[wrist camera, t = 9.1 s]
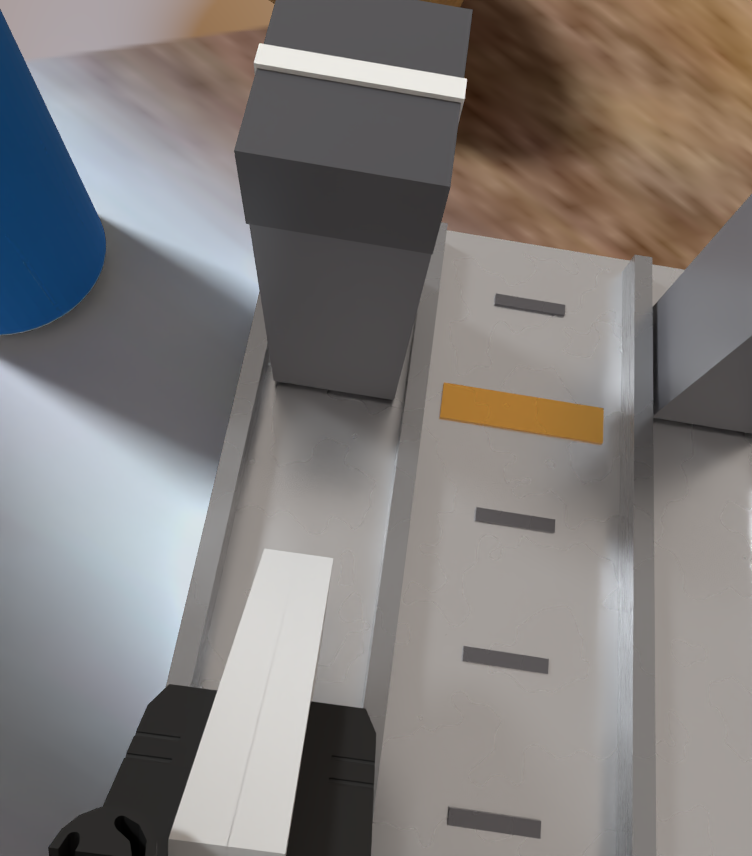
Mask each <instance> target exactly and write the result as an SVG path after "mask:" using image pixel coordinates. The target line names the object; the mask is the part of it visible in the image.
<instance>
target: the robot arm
mask: <svg viewBox="0 0 752 856" xmlns="http://www.w3.org/2000/svg"><path fill="white" fill-rule="evenodd" d="M332 565H333V558H328V557H321V556H314V555H307V554H300V553H293V552H285V551H278V550H271V549H264V551H263V554H262V558H261V561H260V564H259V567H258V570H257V573H256V576H255V579H254V582H253V585H252V588H251V591H250V594H249V597H248V600H247V603H246V606H245V609H244V612H243V615H242V618H241V621H240V624H239V627H238V630H237V633H236V636H235V639H234V642H233V645H232V648H231V651H230V654H229V657H228V660H227V663H226V666H225V669H224V672H223V675H222V678H221V681H220V684H219V687H218V690H210V689H203V688H196V687H188V686H181V685H173V684H169V685H168V686H167V687H166V688H165V689H164V690H163V691H162V692H161V693H160V694H159V695H158V696H157V697H156V698H155V699H153V700H152V701H151V702H150V703H149V704H148V706H147V708H146V710H145V713H144V715H143V717H142V719H141V722H140V724H139V726H138V728H137V731H136V735H135V736H134V737H133V740H132V742H131V744H130V746H129V749H128V751H127V754H126V758H124V760H123V762H122V764H121V767H120V769H119V771H118V773H117V776H116V778H115V780H114V782H113V785H112V787H111V789H110V791H109V794H108V796H107V798H106V800H105V803H104V805H103V807H100V808H97V809H94V810H92V811H89V812H87V813H84V814H81V815H79V816H78V817H77V818H75V819H74V820H73V821H71V822H70V823H69V824H68V825H66V826H65V827H64V828H62V829H61V831H60V832H59V833H58V835H57V836H56V838H55V839H54V840H53V842H52V843H51V845H50V846H49V847H48V849H49V856H371V846H372V823H373V800H374V777H375V754H376V732H375V729H374V727H373V724H372V722H371V720H370V717H369V715H368V712H367V710H366V709H365V708H357V707H350V706H342V705H335V704H328V703H320V702H313V696H314V689H315V683H316V677H317V670H318V664H319V658H320V651H321V643H322V636H323V629H324V622H325V615H326V608H327V600H328V593H329V586H330V579H331V572H332Z"/></svg>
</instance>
